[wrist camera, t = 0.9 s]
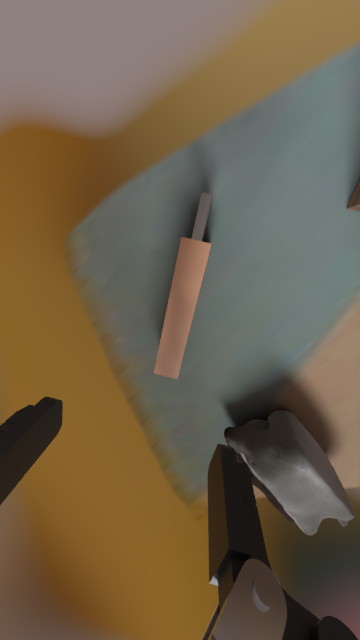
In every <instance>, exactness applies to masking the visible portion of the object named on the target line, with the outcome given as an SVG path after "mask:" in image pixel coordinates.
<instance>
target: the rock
mask: <svg viewBox="0 0 360 640" xmlns="http://www.w3.org/2000/svg"><path fill="white" fill-rule="evenodd" d="M224 435H225V439H226V442H227V444H228V446H230V447H233V448H234V449H235V453H236V459H237V462H239V463H243V464H244V465H245V467H246V469H247V471H248V473H249V474H250V476H251V480H252V484H253V485H254V486H256V487H257V488H259V489H260V490H261V491H262V492H263V493H264V494H265V495H266V497H267V499H268V500H269V501H270V503H271V504H272V505H273V506H274V507H275V508H276V509H277V510H278V511H279V512H280V513H281V514H282V515H283V516H284V517H285V518H286V519H287V520H288V521H289V522H294V521H295V522H296V524H297V525H298V526H299V527H300V529H302V531H303V532H304V533H306V534H308V535H313V534H315V533H316V532H317V529H318V526H319V524H320V522H321V520H322V519H324V518H337V519H338V520H339V522H340V523H341V524H342V525H343V526H346V525H347V522H348V521H349V520H351V519H353V518H354V517H355V513H354V511H353V508H352V506H351V503H350V501H349V499H348V497H347V494H346V492H345V490H344V488H343V486H342V484H341V482H340V480H339V478H338V476H337V474H336V472H335V470H334V468H333V467H332V465H331V463H330V461H329V460H328V458H327V456H326V455H325V453H324V452H323V450H322V449H321V447H320V446H319V444H318V443H317V442H316V440H315V439H314V438H313V437H312V435H311V434H310V433H309V432H308V431H307V429H306V428H305V427H304V426H303V424H302V423H301V422H300V421H299V420H298V418H297V417H296V416H295V415H294V414H293V413H292V412H291V411H285V410H279V411H274V412H273V413H272V414H271V415H270V416H269V417H268V421H266V420H259V419H254V420H250V421H249V422H248V423H247V424H245V425H243V426H240V427H228V428H226V429H225V431H224Z"/></svg>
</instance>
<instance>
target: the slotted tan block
mask: <svg viewBox="0 0 360 640" xmlns="http://www.w3.org/2000/svg"><path fill="white" fill-rule="evenodd" d="M347 209H350V210H355V211H359V212H360V180H359V182H358V184H357V186H356V188H355V191H354V193H353V195H352V197H351V200H350V202H349V204H348V206H347Z"/></svg>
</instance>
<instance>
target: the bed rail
mask: <svg viewBox="0 0 360 640" xmlns="http://www.w3.org/2000/svg"><path fill="white" fill-rule="evenodd" d="M212 195H213V194H209V193H204V192H202V193H201V197H200V202H199V207H198V211H197V216H196V220H195V225H194V229H193V234H192V239H189V238H185V237H181V241H180V246H179V251H178V256H177V261H176V266H175V271H174V276H173V280H172V285H171V290H170V295H169V300H168V305H167V310H166V315H165V320H164V325H163V330H162V335H161V340H160V345H159V350H158V355H157V360H156V365H155V370H154V373H155V374H159V375H163V376H166V377H170V378H174V379H177V378H178V374H179V370H180V366H181V362H182V358H183V354H184V350H185V347H186V343H187V339H188V335H189V331H190V327H191V323H192V319H193V315H194V311H195V307H196V303H197V299H198V295H199V291H200V287H201V284H202V280H203V276H204V272H205V268H206V264H207V260H208V256H209V252H210V248H211V243H207V242H203V238H204V234H205V230H206V226H207V221H208V217H209V213H210V209H211V203H212Z"/></svg>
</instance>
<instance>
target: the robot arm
mask: <svg viewBox="0 0 360 640" xmlns="http://www.w3.org/2000/svg"><path fill="white" fill-rule="evenodd" d="M62 404H63V403H62V401H61V400H58V399H54V398H51V397H44V398H43V399H41V400H40V401H39V402H38V403H37V404H36V405H35V406H33V405H29V406H27V407H25V408H23V409H21V410H19V411H17V412H16V413H14V414H13V415H12V416H11V417H10V418H9V419H7V420H6V421H5V423H3V424H2V425H0V505H1V504H2V502H3V501H4V500H5V499H6V497H7V496H8V495H9V494H10V493H11V491H12V490H13V489H14V488H15V486H16V485H17V484H18V483H19V481H20V480H21V479H22V478H23V476H24V475H25V474H26V473H27V471H28V470H29V469H30V468H31V466H32V465H33V464H34V463H35V461H36V460H37V459H38V458H39V457H40V455H41V454H42V453H43V451H44V450H45V449H46V448H47V447H48V445H49V444H50V443H51V441H52V440H53V439H54V438H55V437H56V435H57V434H58V432H59V430H60V428H61V425H62ZM253 492H254V490H253V485H252V480H251V476H250V474H249V473H248V471H247V469H246V467H245V465H244V464H243V463H239V462H237V459H236V453H235V449H234V448H233V447H230V446H226V445H222V444H218V445H217V447H216V449H215V452H214V454H213V457H212V459H211V462H210V465H209V469H208V526H209V527H208V532H209V583H210V584H213V585H217V586H218V590H219V591H218V593H219V603H218V605H217V607H216V609H215V611H214V613H213V616H212V618H211V620H210V622H209V624H208V626H207V628H206V631H205V633H204V635H203V637H202V639H201V640H358V639H357V638H356V636H355V635H354V634H353V632H352V631H351V630H350V629H349V628H348V627H347V626H346V625H345V624H344V623H342V622H341V621H340V620H338V619H337V618H334V617H332V616H326V617H324V618H322V619H321V620H320V619H318V618H317V617H316V616H314V615H313V614H312V613H311V612H309V611H308V610H306V609H305V608H304V607H303V606H301V605H300V604H299V603H298V602H296V601H295V600H294V599H293V598H291V597H290V596H289V595H288V594H287V593H286V591H285V590H284V589H283V588H282V586H281V585H280V583H279V581H278V580H277V578H276V576H275V575H274V573H273V571H272V569H271V567H270V564H269V561H268V557H267V553H266V548H265V543H264V539H263V533H262V529H261V524H260V519H259V514H258V509H257V506H256V500H255V495H254V493H253Z"/></svg>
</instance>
